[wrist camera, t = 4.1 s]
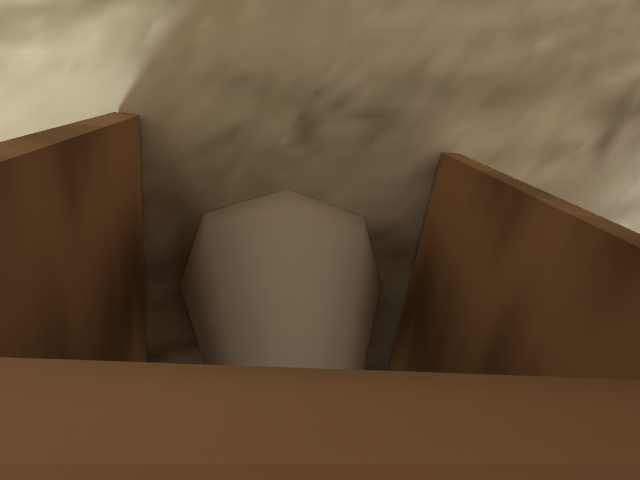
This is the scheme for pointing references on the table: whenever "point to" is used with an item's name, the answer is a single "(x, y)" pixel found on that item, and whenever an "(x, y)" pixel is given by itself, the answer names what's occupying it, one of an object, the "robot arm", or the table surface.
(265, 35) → the table surface
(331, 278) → the flask
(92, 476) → the brown wooden box frame
